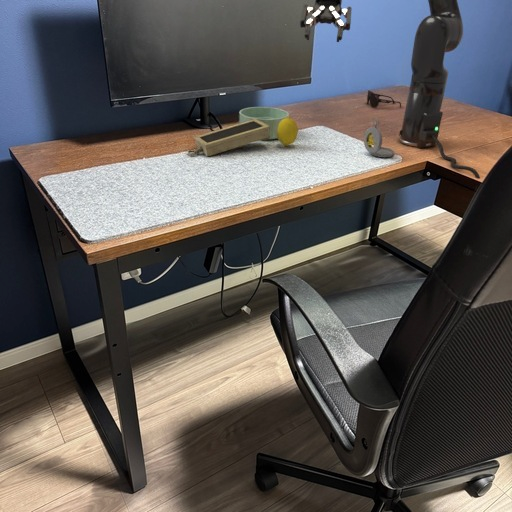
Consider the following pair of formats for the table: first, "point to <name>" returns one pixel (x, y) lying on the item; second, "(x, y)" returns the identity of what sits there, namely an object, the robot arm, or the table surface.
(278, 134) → the lemon
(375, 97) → the sunglasses
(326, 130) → the table surface
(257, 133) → the box
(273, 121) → the bowl
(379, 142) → the pocket watch
